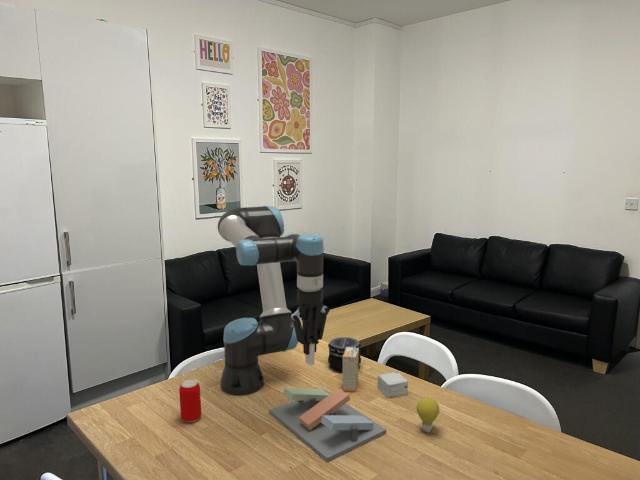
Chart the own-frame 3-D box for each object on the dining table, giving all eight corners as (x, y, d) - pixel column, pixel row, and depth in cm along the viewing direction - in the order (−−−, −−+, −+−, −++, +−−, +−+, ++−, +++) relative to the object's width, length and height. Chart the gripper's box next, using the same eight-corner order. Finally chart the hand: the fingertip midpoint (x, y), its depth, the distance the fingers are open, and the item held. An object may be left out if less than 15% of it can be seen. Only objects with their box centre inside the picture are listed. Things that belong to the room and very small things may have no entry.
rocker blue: (319, 423, 135) (322, 414, 135) (359, 423, 145) (361, 415, 145) (331, 432, 131) (334, 423, 131) (372, 431, 140) (374, 423, 140)
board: (269, 413, 152) (269, 398, 151) (324, 392, 165) (324, 378, 164) (327, 462, 128) (327, 444, 127) (386, 433, 141) (386, 417, 140)
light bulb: (439, 425, 145) (441, 395, 143) (437, 438, 139) (438, 406, 137) (417, 421, 147) (418, 391, 145) (414, 433, 141) (415, 402, 139)
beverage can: (205, 416, 150) (203, 380, 148) (192, 426, 145) (190, 389, 143) (190, 411, 153) (188, 376, 151) (176, 421, 147) (174, 385, 145)
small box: (387, 398, 161) (387, 384, 160) (376, 388, 168) (377, 374, 167) (407, 394, 163) (408, 380, 163) (396, 384, 171) (397, 370, 170)
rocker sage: (281, 394, 151) (283, 387, 151) (319, 396, 161) (321, 389, 161) (291, 402, 146) (293, 394, 146) (330, 403, 156) (332, 395, 156)
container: (324, 361, 189) (324, 337, 187) (355, 358, 192) (355, 334, 190) (332, 376, 177) (332, 350, 175) (365, 372, 180) (366, 347, 178)
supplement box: (355, 392, 164) (356, 357, 162) (342, 391, 165) (342, 356, 163) (358, 381, 172) (359, 347, 170) (345, 380, 173) (345, 346, 171)
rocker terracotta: (300, 423, 144) (298, 416, 143) (339, 394, 152) (338, 387, 151) (311, 432, 139) (309, 425, 139) (351, 401, 148) (349, 395, 147)
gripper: (298, 295, 132) (298, 374, 137) (335, 287, 139) (334, 362, 144) (284, 288, 138) (284, 364, 143) (320, 281, 145) (320, 353, 150)
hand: (309, 363), depth 143 cm, fingers closed
